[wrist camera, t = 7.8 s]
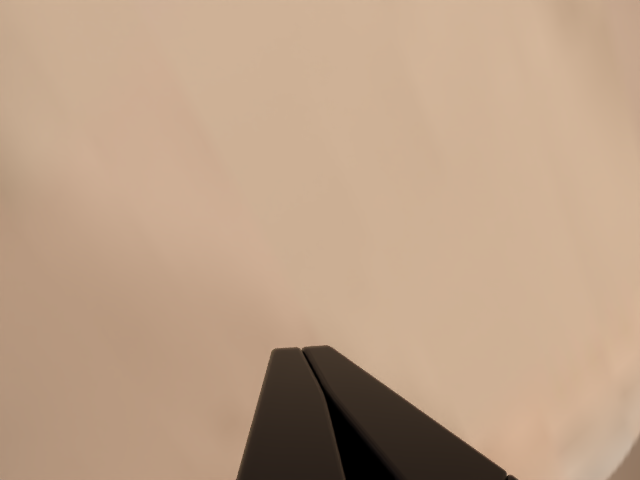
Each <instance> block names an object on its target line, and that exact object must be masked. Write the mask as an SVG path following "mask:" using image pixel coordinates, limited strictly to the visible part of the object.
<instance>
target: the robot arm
mask: <svg viewBox="0 0 640 480" xmlns="http://www.w3.org/2000/svg"><path fill="white" fill-rule="evenodd" d="M236 480H518V479H517V478H515V477H514V476H512V475H508V476H507V473H506V471H505V470H504V469H502V468H501V467H499V466H498V465H497V464H495V463H494V462H492V461H491V460H490V459H488V458H487V457H485V456H484V455H483V454H481V453H480V452H478V451H477V450H476V449H474V448H473V447H471V446H470V445H468V444H467V443H466V442H464V441H463V440H461V439H460V438H459V437H457V436H456V435H454V434H453V433H452V432H450V431H449V430H447V429H446V428H445V427H443V426H442V425H440V424H439V423H438V422H436V421H435V420H433V419H432V418H431V417H429V416H428V415H426V414H425V413H424V412H422V411H421V410H419V409H418V408H416V407H415V406H414V405H412V404H411V403H409V402H408V401H407V400H405V399H404V398H402V397H401V396H400V395H398V394H397V393H395V392H394V391H393V390H391V389H390V388H388V387H387V386H386V385H384V384H383V383H381V382H380V381H379V380H377V379H376V378H374V377H373V376H371V375H370V374H369V373H367V372H366V371H364V370H363V369H362V368H360V367H359V366H357V365H356V364H355V363H353V362H352V361H350V360H349V359H348V358H346V357H345V356H343V355H342V354H341V353H339V352H338V351H336V350H335V349H334V348H332V347H330V346H327V345H324V346H309V347H304V348H302V350H301V349H300V348H297V347H293V348H277V349H274V350H273V351H272V352H271V356H270V359H269V363H268V367H267V370H266V374H265V377H264V381H263V385H262V388H261V392H260V396H259V399H258V403H257V406H256V410H255V414H254V417H253V421H252V425H251V428H250V432H249V435H248V439H247V443H246V446H245V450H244V454H243V457H242V461H241V464H240V468H239V472H238V475H237V479H236Z"/></svg>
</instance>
